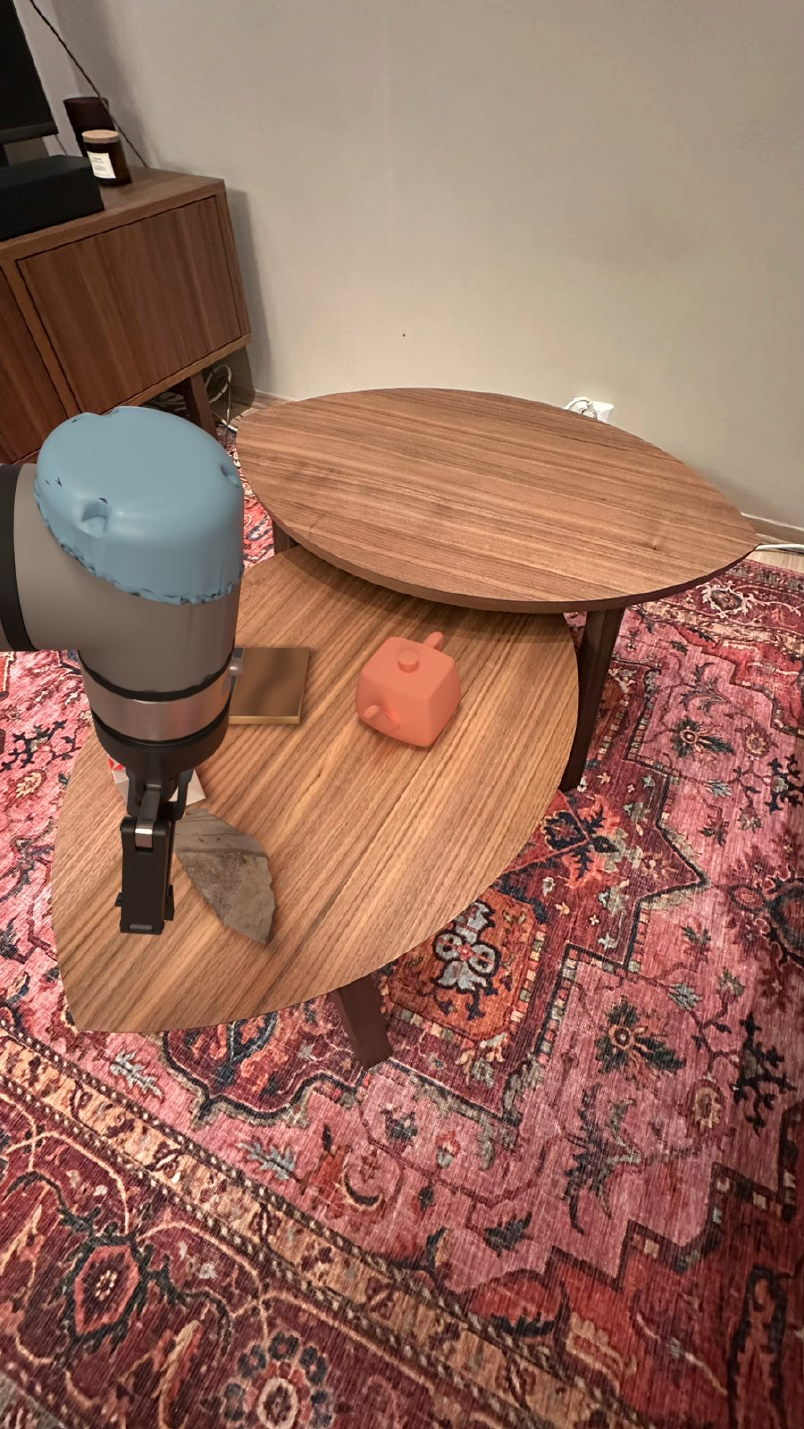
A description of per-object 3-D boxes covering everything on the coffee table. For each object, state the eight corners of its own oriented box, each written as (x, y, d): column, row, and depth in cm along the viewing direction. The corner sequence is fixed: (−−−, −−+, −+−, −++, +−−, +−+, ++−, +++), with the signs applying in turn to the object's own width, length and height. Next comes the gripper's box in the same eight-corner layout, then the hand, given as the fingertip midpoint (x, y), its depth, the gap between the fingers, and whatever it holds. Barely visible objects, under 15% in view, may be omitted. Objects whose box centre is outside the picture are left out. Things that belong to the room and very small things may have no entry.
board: (159, 723, 87) (156, 716, 86) (182, 653, 96) (179, 645, 95) (299, 724, 87) (298, 717, 86) (310, 653, 96) (309, 646, 94)
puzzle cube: (188, 750, 84) (171, 708, 78) (206, 798, 80) (189, 756, 74) (123, 774, 82) (100, 732, 76) (137, 824, 77) (114, 784, 72)
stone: (172, 841, 76) (132, 872, 66) (212, 777, 75) (178, 799, 65) (284, 914, 77) (261, 956, 67) (326, 852, 75) (309, 885, 66)
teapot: (476, 689, 91) (482, 630, 83) (410, 787, 80) (409, 730, 72) (401, 660, 94) (400, 601, 87) (329, 750, 84) (320, 692, 76)
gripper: (196, 918, 32) (195, 997, 49) (255, 538, 45) (237, 706, 63) (22, 907, 30) (83, 992, 48) (135, 516, 44) (151, 695, 61)
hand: (170, 830), depth 55 cm, fingers open, 13 cm apart
